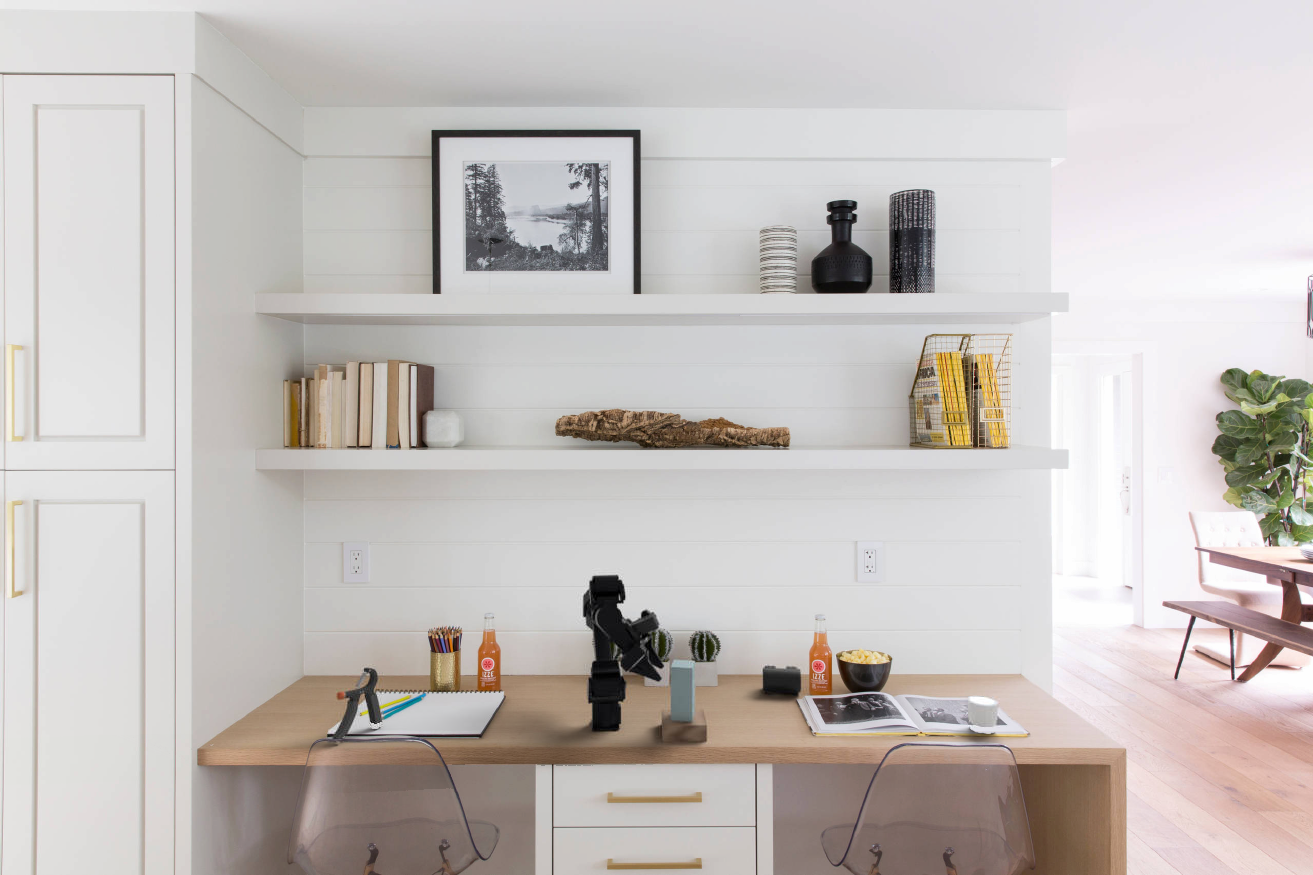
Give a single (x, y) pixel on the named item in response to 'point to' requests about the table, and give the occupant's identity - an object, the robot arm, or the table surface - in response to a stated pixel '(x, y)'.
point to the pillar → (682, 690)
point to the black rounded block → (781, 680)
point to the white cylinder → (982, 711)
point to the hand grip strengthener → (354, 700)
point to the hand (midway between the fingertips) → (661, 673)
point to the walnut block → (684, 727)
